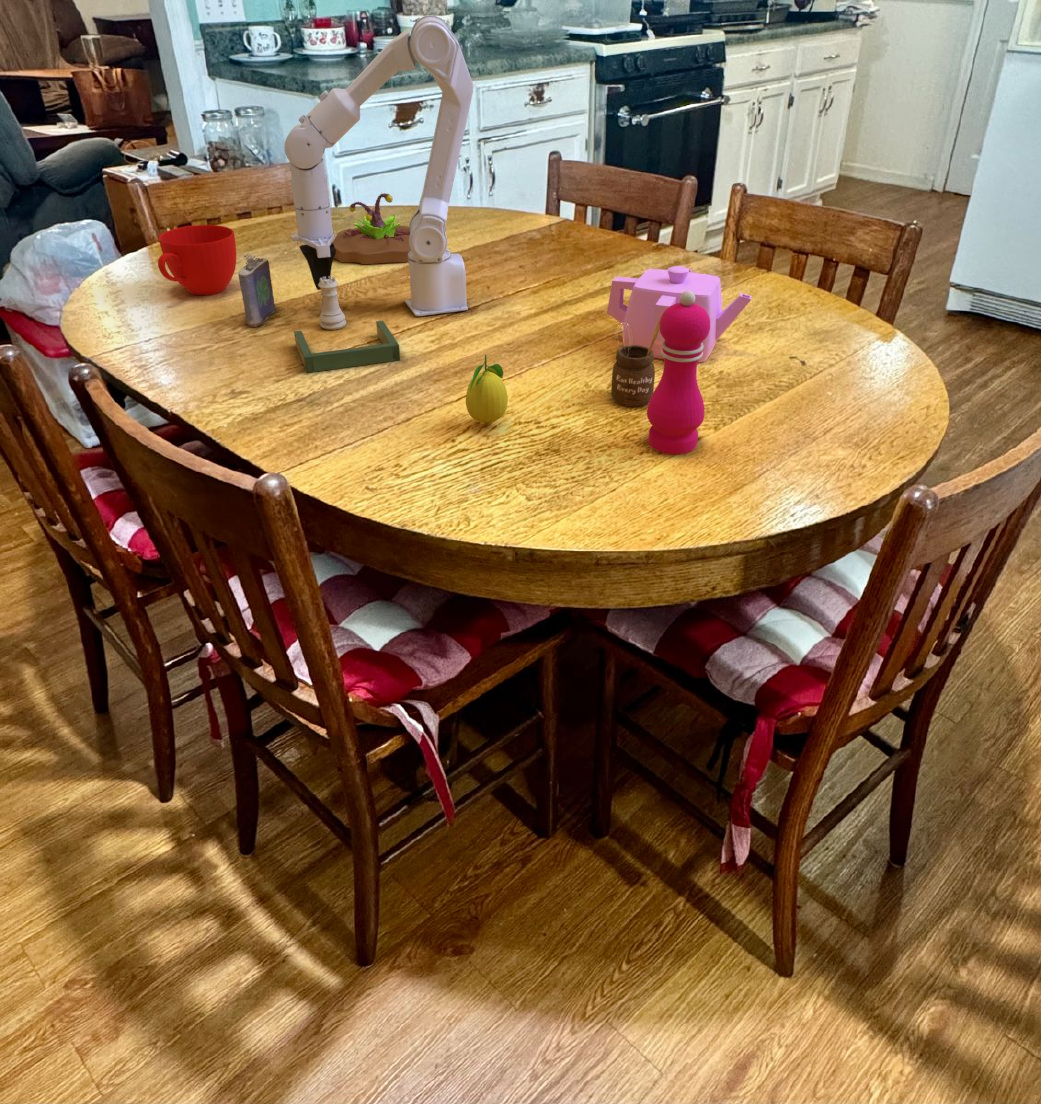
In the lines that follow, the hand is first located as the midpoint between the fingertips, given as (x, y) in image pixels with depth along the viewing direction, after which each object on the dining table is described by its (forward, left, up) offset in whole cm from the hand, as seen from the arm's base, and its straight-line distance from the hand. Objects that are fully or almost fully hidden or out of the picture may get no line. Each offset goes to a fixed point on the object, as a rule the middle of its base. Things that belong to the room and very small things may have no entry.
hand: (322, 288), depth 155 cm
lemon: (-13, +52, -4) cm, 53 cm away
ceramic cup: (+20, -17, -4) cm, 27 cm away
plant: (-17, -32, -4) cm, 37 cm away
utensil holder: (-35, +51, -4) cm, 62 cm away
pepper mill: (-34, +65, -4) cm, 73 cm away
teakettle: (-50, +35, -4) cm, 61 cm away
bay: (0, +20, -4) cm, 20 cm away
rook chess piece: (0, +8, -4) cm, 9 cm away
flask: (+11, 0, -4) cm, 12 cm away
